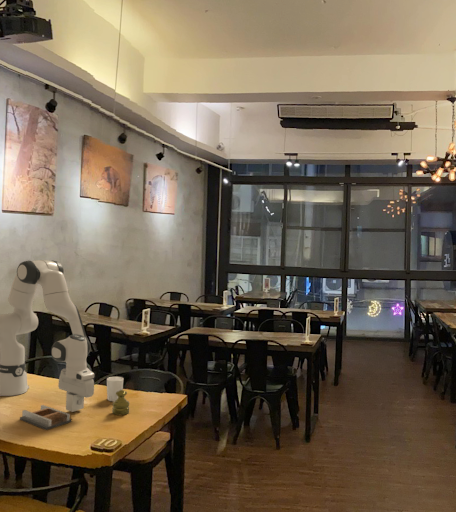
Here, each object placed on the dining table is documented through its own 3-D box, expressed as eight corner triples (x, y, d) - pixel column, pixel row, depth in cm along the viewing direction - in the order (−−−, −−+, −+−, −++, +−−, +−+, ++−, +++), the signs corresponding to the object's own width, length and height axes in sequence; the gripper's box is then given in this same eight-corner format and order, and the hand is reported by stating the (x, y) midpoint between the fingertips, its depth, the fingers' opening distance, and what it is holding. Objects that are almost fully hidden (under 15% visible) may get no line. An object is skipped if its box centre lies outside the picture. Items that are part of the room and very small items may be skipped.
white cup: (103, 398, 234) (103, 378, 234) (117, 395, 239) (118, 375, 239) (110, 402, 228) (111, 381, 228) (125, 400, 233) (126, 379, 233)
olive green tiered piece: (118, 408, 220) (119, 387, 220) (132, 411, 217) (133, 389, 217) (108, 413, 213) (109, 391, 213) (123, 416, 210) (123, 393, 210)
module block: (65, 409, 213) (66, 393, 213) (77, 406, 218) (77, 390, 218) (72, 411, 211) (73, 395, 211) (83, 408, 216) (84, 392, 215)
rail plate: (19, 419, 202) (20, 411, 202) (45, 412, 212) (45, 404, 212) (46, 430, 192) (46, 421, 192) (71, 421, 202) (71, 413, 202)
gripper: (55, 369, 217) (54, 399, 218) (85, 377, 206) (84, 409, 206) (67, 366, 223) (66, 396, 223) (97, 374, 211) (95, 406, 211)
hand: (75, 402), depth 214 cm, fingers closed on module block, 4 cm apart
